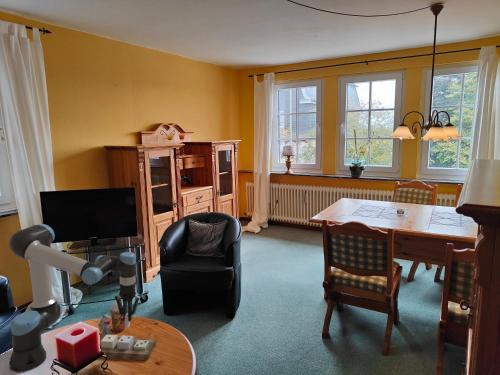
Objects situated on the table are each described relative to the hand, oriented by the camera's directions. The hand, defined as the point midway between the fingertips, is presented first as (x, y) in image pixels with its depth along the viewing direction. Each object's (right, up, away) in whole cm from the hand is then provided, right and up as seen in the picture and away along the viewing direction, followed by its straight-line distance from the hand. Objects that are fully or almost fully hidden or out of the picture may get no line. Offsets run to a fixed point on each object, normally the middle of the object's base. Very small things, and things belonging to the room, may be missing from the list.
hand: (127, 326), depth 174 cm
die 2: (-2, -11, +2) cm, 11 cm away
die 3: (+7, -13, +1) cm, 15 cm away
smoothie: (-13, -11, +21) cm, 27 cm away
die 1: (-10, -11, +2) cm, 15 cm away
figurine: (-16, -12, +12) cm, 23 cm away
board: (-2, -13, +2) cm, 13 cm away
